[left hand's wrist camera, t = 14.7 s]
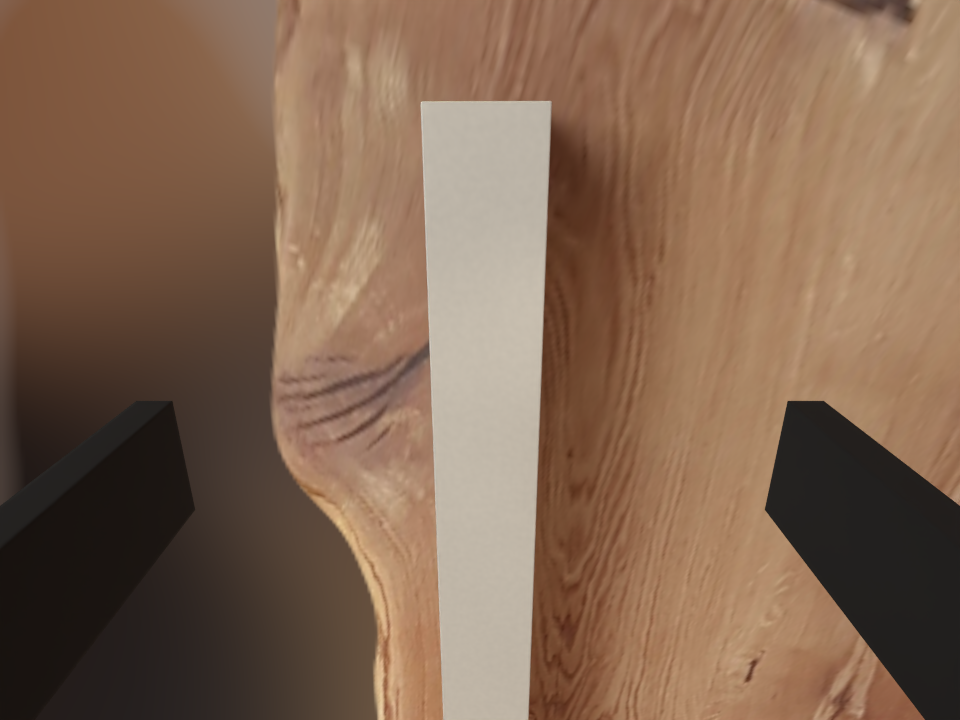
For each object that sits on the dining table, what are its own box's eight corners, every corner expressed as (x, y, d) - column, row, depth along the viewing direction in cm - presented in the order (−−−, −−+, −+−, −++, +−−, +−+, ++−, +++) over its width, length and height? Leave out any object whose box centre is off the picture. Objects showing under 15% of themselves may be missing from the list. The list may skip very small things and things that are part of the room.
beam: (433, 108, 32) (420, 101, 25) (535, 108, 32) (551, 100, 25) (457, 915, 59) (454, 1021, 52) (512, 915, 59) (517, 1021, 52)
